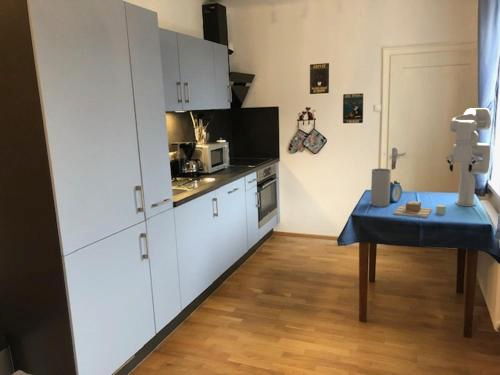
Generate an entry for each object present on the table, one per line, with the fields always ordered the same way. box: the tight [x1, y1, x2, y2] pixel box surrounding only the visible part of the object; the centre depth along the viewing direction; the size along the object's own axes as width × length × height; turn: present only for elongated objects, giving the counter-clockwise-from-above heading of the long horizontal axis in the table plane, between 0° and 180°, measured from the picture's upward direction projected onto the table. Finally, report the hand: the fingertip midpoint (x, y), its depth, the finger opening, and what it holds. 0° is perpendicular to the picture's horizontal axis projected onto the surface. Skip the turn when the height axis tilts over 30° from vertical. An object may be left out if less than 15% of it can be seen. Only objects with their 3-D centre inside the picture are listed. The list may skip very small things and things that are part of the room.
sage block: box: [435, 204, 447, 216], centre depth 263 cm, size 5×5×5 cm
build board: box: [393, 200, 433, 219], centre depth 267 cm, size 20×20×6 cm
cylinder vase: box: [370, 168, 392, 208], centre depth 286 cm, size 12×12×25 cm
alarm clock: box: [389, 180, 403, 203], centre depth 295 cm, size 13×6×15 cm, turn 128°
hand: (460, 171), depth 242 cm, fingers open, 9 cm apart
